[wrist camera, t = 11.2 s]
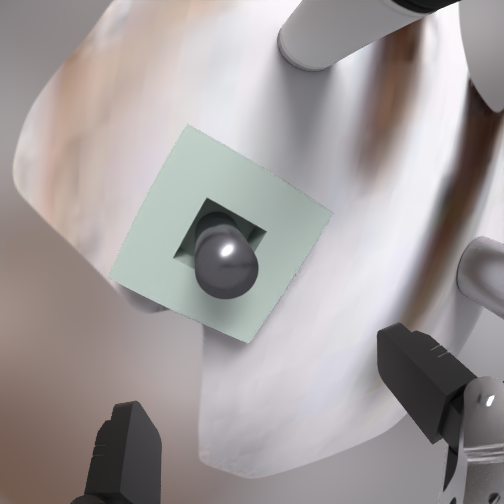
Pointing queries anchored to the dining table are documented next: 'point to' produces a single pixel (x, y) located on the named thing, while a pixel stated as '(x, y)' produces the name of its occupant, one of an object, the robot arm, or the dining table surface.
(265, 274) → the socket block
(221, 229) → the pin
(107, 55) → the dining table surface
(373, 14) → the travel mug
